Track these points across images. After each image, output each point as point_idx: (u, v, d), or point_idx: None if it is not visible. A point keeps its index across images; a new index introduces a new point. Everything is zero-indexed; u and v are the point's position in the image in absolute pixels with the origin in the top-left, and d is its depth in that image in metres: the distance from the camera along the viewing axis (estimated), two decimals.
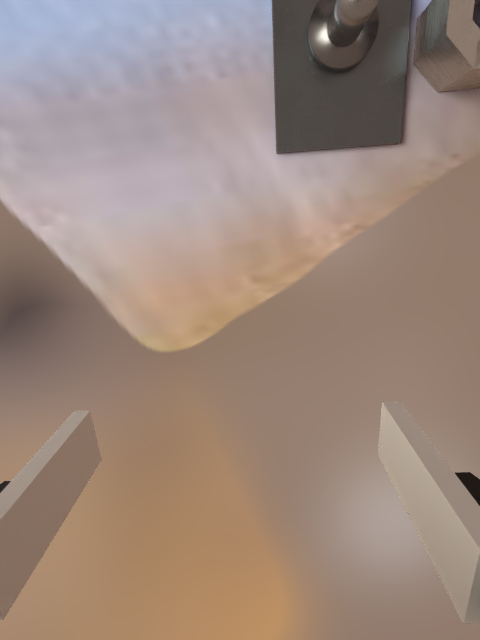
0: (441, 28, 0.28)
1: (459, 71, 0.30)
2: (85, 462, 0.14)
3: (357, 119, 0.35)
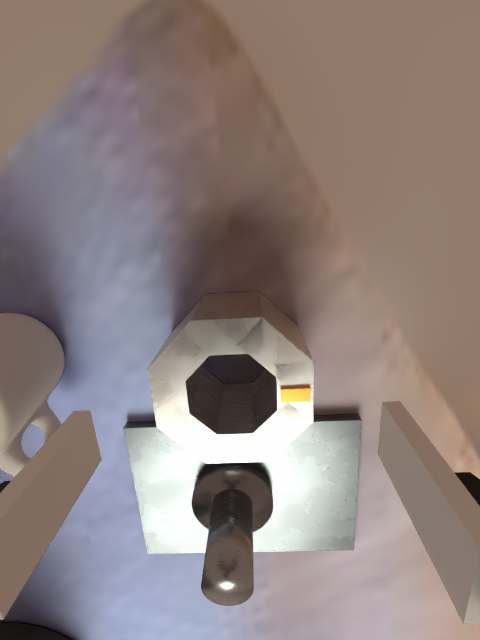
0: None
1: None
2: (85, 462, 0.14)
3: (326, 471, 0.26)
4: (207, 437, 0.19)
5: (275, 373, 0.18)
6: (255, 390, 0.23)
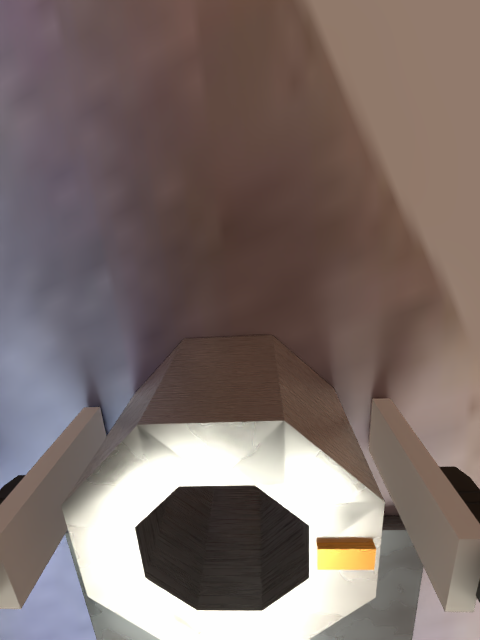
0: None
1: None
2: None
3: None
4: (180, 613, 0.11)
5: (307, 519, 0.09)
6: None
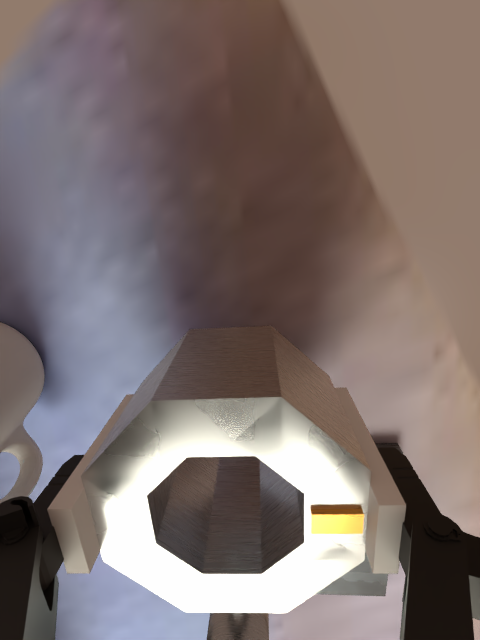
0: None
1: None
2: None
3: None
4: (186, 577, 0.12)
5: (302, 487, 0.10)
6: (264, 471, 0.16)
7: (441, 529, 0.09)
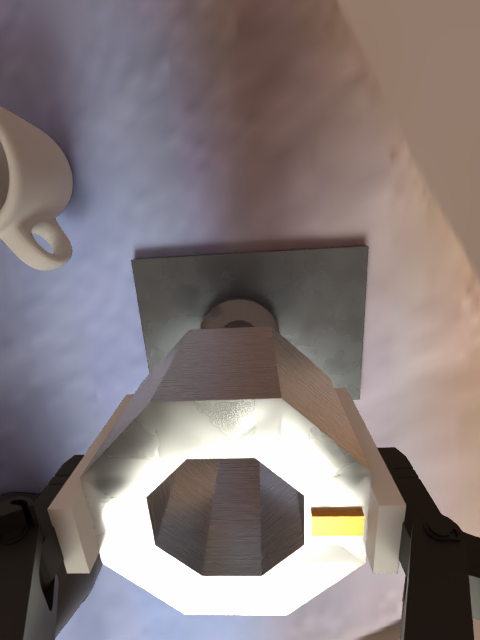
0: None
1: None
2: None
3: (333, 307, 0.26)
4: (186, 579, 0.12)
5: (302, 489, 0.10)
6: (264, 473, 0.16)
7: (441, 529, 0.09)
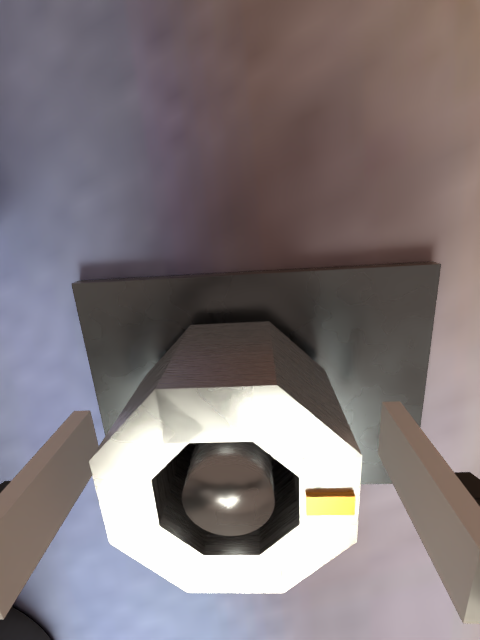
0: None
1: None
2: (85, 462, 0.14)
3: (380, 355, 0.17)
4: (188, 558, 0.12)
5: (297, 471, 0.11)
6: None
7: None
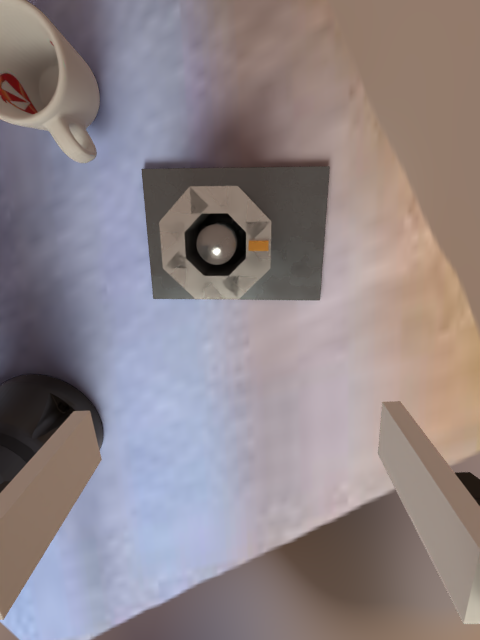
0: None
1: None
2: (85, 462, 0.14)
3: (300, 217, 0.33)
4: (197, 277, 0.28)
5: (245, 229, 0.27)
6: (235, 264, 0.32)
7: None
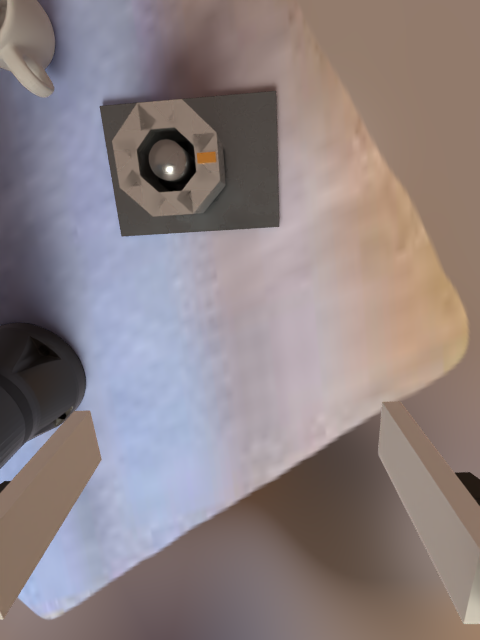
0: None
1: (218, 186, 0.31)
2: (85, 462, 0.14)
3: (253, 144, 0.35)
4: (152, 194, 0.30)
5: (193, 142, 0.28)
6: None
7: None
